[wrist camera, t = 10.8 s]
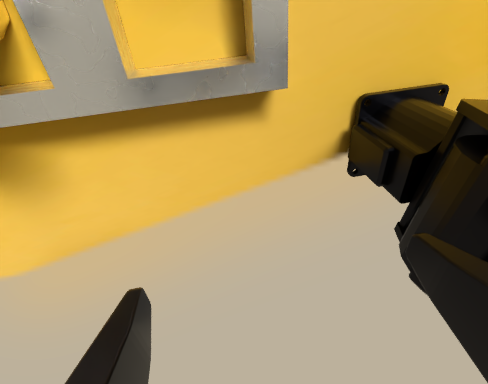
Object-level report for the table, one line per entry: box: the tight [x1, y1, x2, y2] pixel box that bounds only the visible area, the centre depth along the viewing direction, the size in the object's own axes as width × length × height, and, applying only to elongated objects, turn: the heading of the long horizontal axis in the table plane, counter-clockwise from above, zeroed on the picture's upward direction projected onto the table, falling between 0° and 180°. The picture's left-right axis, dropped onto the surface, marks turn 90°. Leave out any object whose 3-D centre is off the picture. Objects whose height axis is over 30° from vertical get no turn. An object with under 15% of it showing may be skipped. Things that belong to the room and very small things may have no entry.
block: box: [0, 0, 288, 128], centre depth 12 cm, size 20×10×2 cm, turn 95°
